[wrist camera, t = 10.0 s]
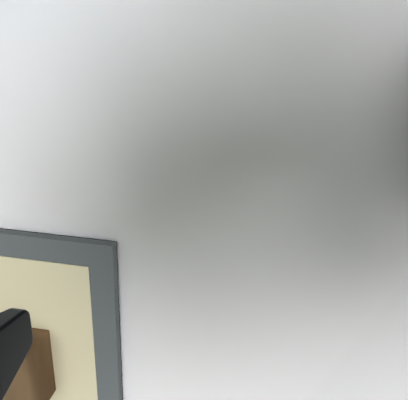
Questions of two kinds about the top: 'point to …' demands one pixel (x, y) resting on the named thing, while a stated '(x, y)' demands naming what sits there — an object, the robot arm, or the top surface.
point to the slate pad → (68, 306)
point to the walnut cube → (35, 371)
